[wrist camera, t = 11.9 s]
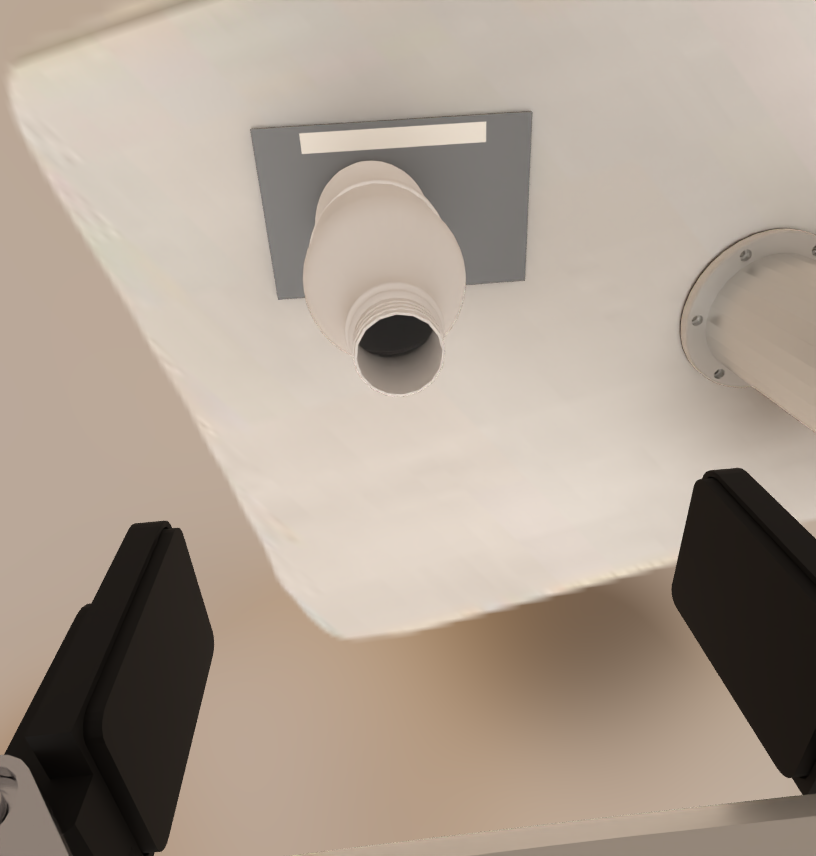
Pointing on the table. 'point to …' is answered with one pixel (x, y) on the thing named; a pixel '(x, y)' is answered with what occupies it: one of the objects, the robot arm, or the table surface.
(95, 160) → the table surface
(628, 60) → the table surface
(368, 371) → the water bottle
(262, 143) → the board
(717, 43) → the table surface
